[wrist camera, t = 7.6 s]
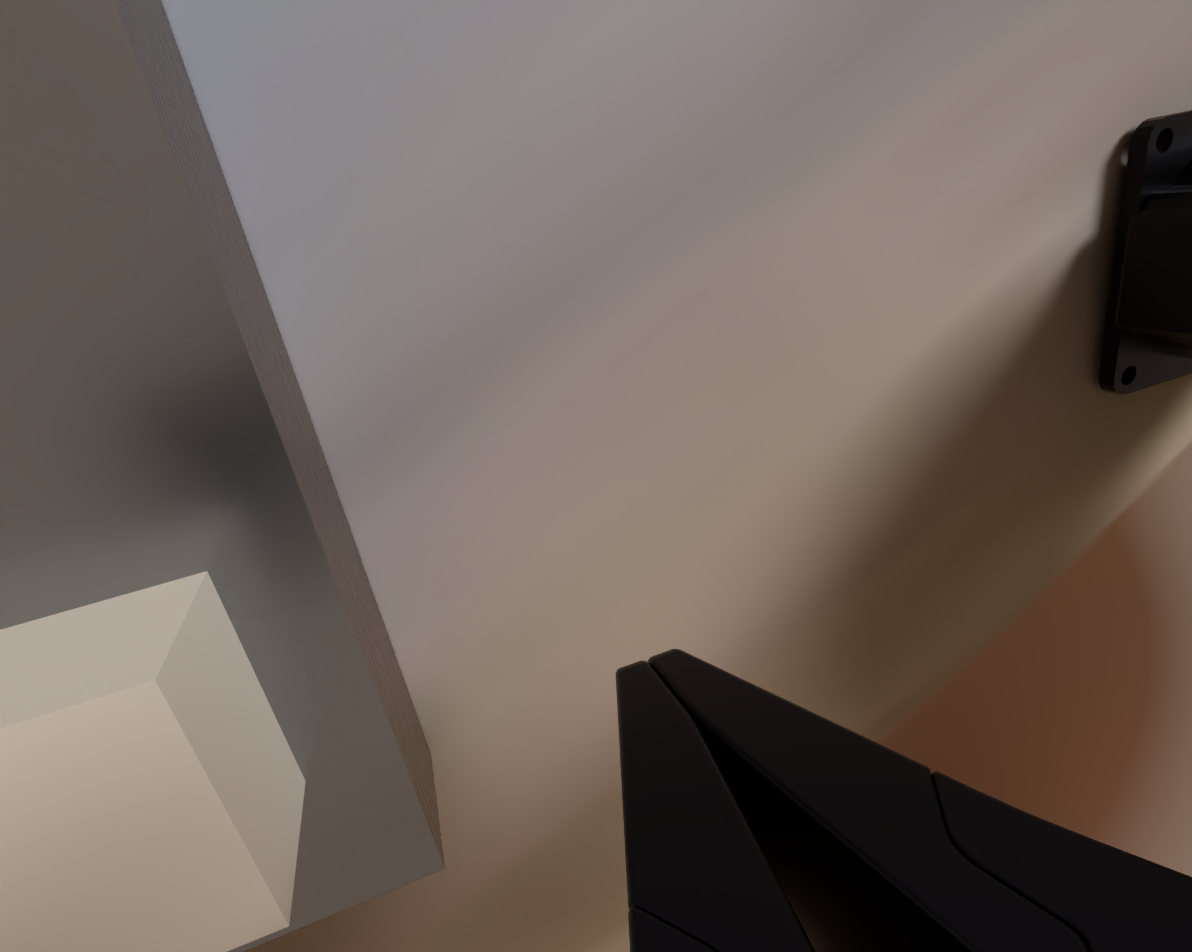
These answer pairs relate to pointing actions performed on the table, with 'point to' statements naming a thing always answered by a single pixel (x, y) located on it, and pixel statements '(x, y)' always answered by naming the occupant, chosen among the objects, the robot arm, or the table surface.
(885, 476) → the table surface
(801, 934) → the robot arm
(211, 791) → the tile
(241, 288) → the plate
